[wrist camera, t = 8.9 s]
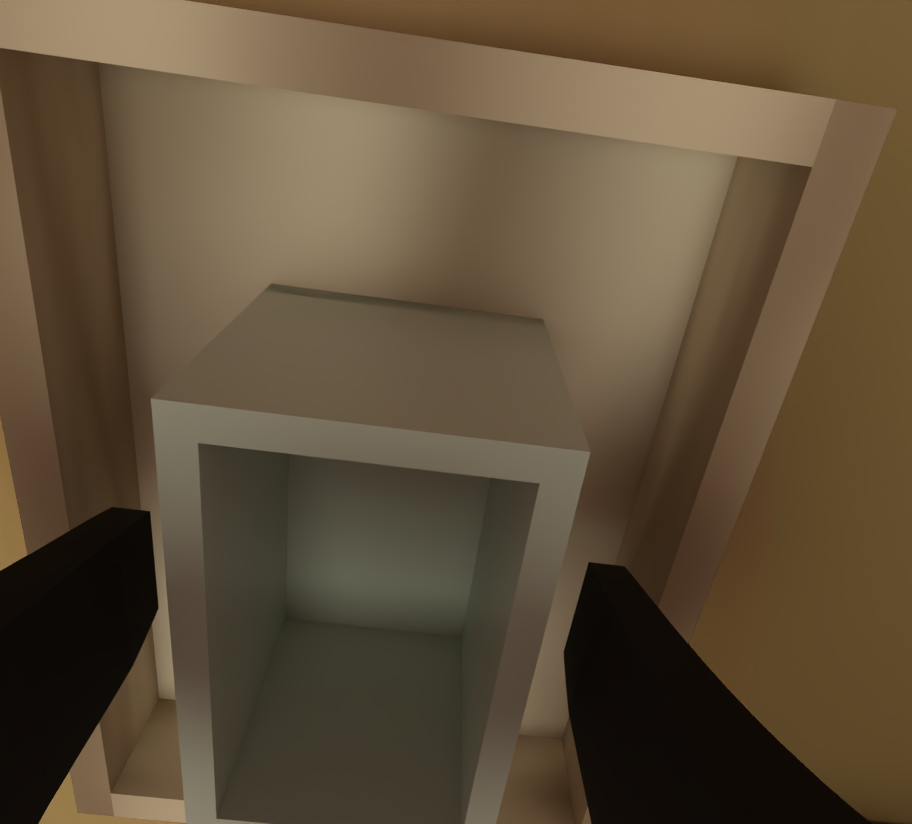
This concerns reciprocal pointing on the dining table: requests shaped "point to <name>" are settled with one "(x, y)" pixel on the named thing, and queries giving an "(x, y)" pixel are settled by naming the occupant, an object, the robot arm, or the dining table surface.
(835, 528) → the dining table surface
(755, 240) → the big crate
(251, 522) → the small crate
